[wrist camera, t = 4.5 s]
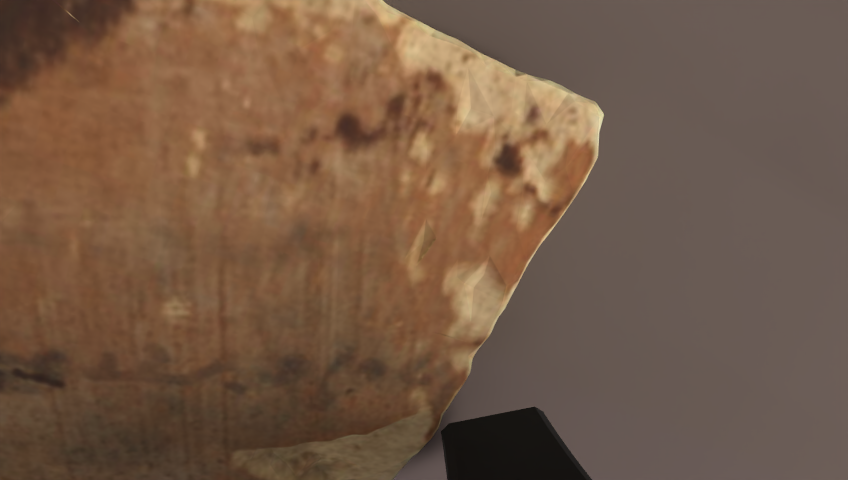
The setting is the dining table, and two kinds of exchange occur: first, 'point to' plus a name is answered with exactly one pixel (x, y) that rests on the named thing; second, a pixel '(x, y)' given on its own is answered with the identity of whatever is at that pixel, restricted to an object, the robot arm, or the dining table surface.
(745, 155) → the dining table surface
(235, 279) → the shard
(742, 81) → the dining table surface
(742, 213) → the dining table surface
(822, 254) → the dining table surface
